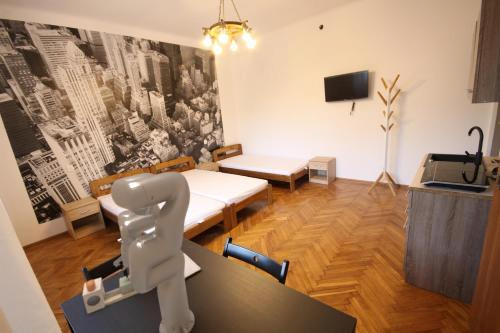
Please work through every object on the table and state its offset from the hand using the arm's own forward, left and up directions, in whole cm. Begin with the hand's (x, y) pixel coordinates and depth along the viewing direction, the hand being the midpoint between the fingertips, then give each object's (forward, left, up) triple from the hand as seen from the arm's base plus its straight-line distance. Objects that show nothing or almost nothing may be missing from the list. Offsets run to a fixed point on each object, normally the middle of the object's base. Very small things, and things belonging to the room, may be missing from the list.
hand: (138, 271), depth 104 cm
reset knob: (-2, +17, +1) cm, 18 cm away
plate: (+1, -16, -8) cm, 18 cm away
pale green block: (0, +5, -8) cm, 10 cm away
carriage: (0, +3, -6) cm, 7 cm away
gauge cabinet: (0, +17, -8) cm, 19 cm away
